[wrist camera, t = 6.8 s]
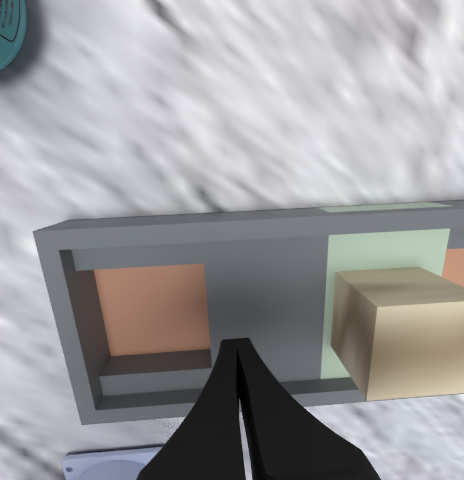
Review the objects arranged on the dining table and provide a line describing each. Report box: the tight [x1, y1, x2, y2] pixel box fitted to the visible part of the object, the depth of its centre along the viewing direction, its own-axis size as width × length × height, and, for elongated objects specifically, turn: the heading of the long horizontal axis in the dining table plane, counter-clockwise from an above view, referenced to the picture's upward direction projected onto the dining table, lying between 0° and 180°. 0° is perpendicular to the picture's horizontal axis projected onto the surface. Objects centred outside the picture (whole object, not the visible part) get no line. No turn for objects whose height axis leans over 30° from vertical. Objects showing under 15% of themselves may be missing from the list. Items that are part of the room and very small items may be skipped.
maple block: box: [331, 267, 464, 401], centre depth 13 cm, size 5×5×4 cm
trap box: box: [33, 200, 464, 425], centre depth 16 cm, size 12×30×3 cm, turn 92°
